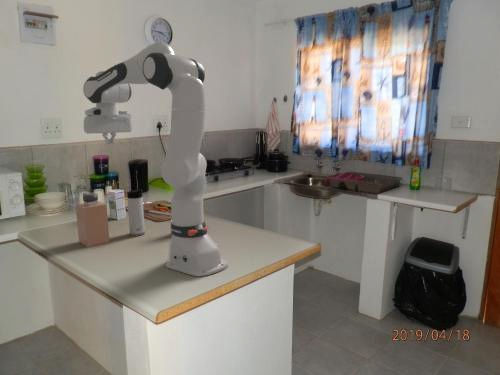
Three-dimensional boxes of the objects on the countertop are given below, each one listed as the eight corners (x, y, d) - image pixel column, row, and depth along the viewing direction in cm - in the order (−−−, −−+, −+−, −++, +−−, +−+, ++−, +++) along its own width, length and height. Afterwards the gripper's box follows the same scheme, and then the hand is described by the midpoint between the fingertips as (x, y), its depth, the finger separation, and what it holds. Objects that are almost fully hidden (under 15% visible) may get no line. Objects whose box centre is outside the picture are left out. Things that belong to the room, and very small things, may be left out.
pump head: (102, 223, 158) (99, 194, 155) (88, 226, 154) (85, 197, 152) (93, 219, 164) (90, 191, 162) (79, 222, 160) (77, 193, 158)
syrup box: (126, 217, 197) (124, 189, 194) (117, 220, 192) (114, 191, 189) (119, 216, 200) (117, 188, 197) (109, 218, 195) (107, 190, 192)
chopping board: (206, 214, 203) (206, 209, 203) (161, 224, 185) (161, 218, 184) (161, 201, 235) (160, 196, 235) (119, 209, 217) (119, 203, 216)
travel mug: (141, 236, 166) (138, 191, 162) (127, 235, 167) (124, 190, 163) (148, 232, 172) (145, 188, 168) (134, 231, 173) (131, 187, 169)
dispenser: (109, 242, 159) (106, 200, 156) (87, 247, 153) (83, 204, 150) (100, 237, 165) (97, 197, 162) (79, 242, 159) (75, 200, 156)
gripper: (126, 111, 174) (128, 141, 177) (80, 111, 160) (83, 144, 163) (133, 111, 170) (135, 142, 172) (86, 111, 156) (89, 145, 158)
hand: (109, 143), depth 167 cm, fingers closed
